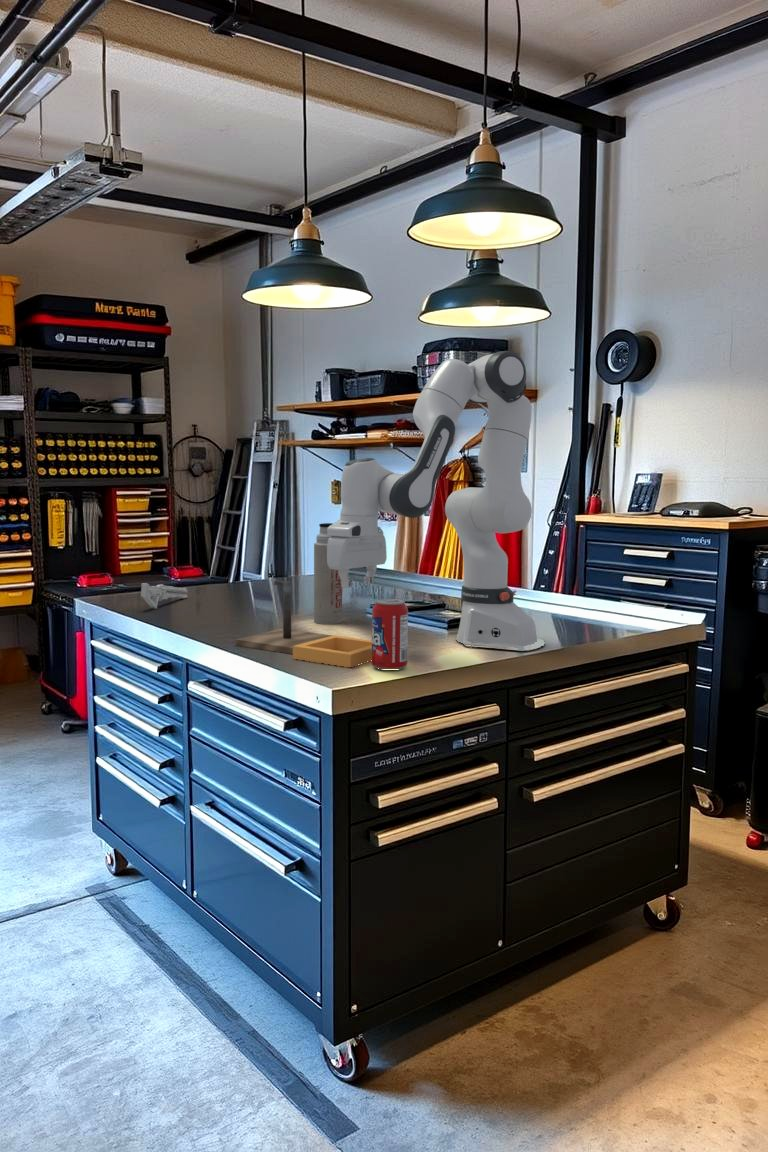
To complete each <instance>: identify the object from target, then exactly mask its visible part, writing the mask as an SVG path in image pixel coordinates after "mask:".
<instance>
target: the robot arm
mask: <svg viewBox="0 0 768 1152" xmlns="http://www.w3.org/2000/svg"><path fill="white" fill-rule="evenodd" d="M526 382H527V369H526V365H525V362H524V360H523V358H522V357H521V356H520V355H519V354H517V353H515V352H514V351H513V352H512V351H510V350H509V351H505V350H504V351H503V350H502V351H497V352H495V353H490V354H486V355H484V356H481V357H479V358H478V359H475V360H474V361H471V362H468V363H466V362H464V361H463V360H461V359H457V358H449V359H448V358H447V359H446V360H444V361H443V362H441V363H440V364H439V366H438V367H437V368H436V369H435V371H434V372H433V373H432V374H431V376H430V377H429V379H428V380H427V382H426V383H425V385H424V386H423V388H422V389H421V392H420V394H419V395H418V398H417V399H416V401H415V405H414V407H413V411H412V417H413V420H414V422H415V425H416V427H417V428H418V429H419V431H421V432H422V433H423V435H424V438H423V439H424V440H423V443H422V445H421V448H419V449H420V450H419V452H418V454H417V457H416V459H415V461H414V463H413V465H412V467H411V468H410V469H409V470H408V471H406V472H405V473H395V472H394V471H392V470H390V469H388V468H386V467H384V466H383V465H381V464H380V463H379V462H378V461H377V459H375V458H374V457H364V458H356V459H351V460H349V461H347V462H346V463H345V464H344V465H343V466H344V467H343V470H342V474H341V485H340V499H341V504H342V505H341V509H340V516H339V517H340V519H338V520H337V521H335V522H334V523H333V524H332V525H330V526H329V527H328V528H327V535H328V536H331V537H330V538H329V540H328V543H327V564H328V566H329V568H330V569H335V570H338V574H339V576H340V579H341V587H342V589H350V588H352V580H351V579H350V578H349V574H350V569H358V568H365V569H366V570H367V571H366V574H365V576H364V577H363V584H364V585H373V584H374V577H375V575H376V573H377V569H378V566H382V565H385V563H386V561H387V542H386V541H387V540H386V537H385V534H384V531H383V529H382V528H381V526H379V525H378V524H379V521H378V520H379V513H380V512H382V513H385V514H391V515H397V516H398V515H399V516H403V517H406V518H409V519H410V518H411V519H415V518H416V519H417V518H419V517H421V516H423V515H424V514H426V513H427V512H428V510H430V508H431V506H432V504H433V501H434V497H435V490H436V485H437V482H438V479H439V476H440V473H441V471H442V468H443V466H444V463H445V461H446V459H447V456H448V453H449V451H450V449H451V448H452V447H451V446H452V443H453V441H454V438H455V434H456V425H457V423H458V421H459V419H460V417H461V415H462V413H463V411H464V409H465V406H466V405H467V403H468V402H469V403H471V404H483V403H486V404H487V408H488V409H487V410H488V414H487V415H488V416H487V417H488V418H487V420H486V424H485V428H484V431H483V436H482V439H481V443H480V447H479V451H478V455H477V463H478V466H480V468H481V469H482V470H483V471H484V475H485V483H484V486H483V487H472V486H470V487H469V486H468V487H465V488H461V489H458V490H455V491H453V492H451V493H450V495H448V497H447V499H446V502H445V505H444V512H445V516H446V519H447V520H448V522H449V523H450V524H451V525H452V526H453V528H454V529H455V532H456V534H457V536H458V540H459V543H460V546H461V547H460V548H461V552H462V557H463V559H462V560H463V579H462V580H463V585H461V591H460V592H461V593H460V596H461V597H460V599H461V600H460V602H461V614H460V620H459V626H458V632H457V635H456V638H455V641H456V640H457V641H459V642H461V643H463V644H464V645H471V646H472V645H473V646H497V647H514V648H519V647H520V648H521V647H522V646H527V645H531V644H534V643H535V642H537V627H536V624H535V621H534V619H533V618H532V617H531V616H530V615H528V613H526V612H525V611H524V610H523V609H522V608H521V607H520V606H518V605H517V604H516V603H515V602H514V596H517V594H516V593H517V590H511V588H510V587H509V586H508V570H509V569H508V568H509V567H508V565H509V558H508V555H507V553H506V551H504V549H503V548H502V547H501V546H500V544H499V542H498V541H497V537H496V533H498V534H509V533H516V532H519V531H522V530H524V529H525V528H526V527H527V526H528V524H529V523H530V521H531V518H532V512H533V511H532V503H531V501H530V499H529V497H528V496H527V495H526V493H525V491H524V488H523V485H522V466H523V460H524V456H525V453H526V448H527V444H528V439H529V435H530V429H531V423H532V411H533V410H532V409H533V407H532V402H531V400H530V399H529V398H528V397H526V395H524V394H525V392H526V389H527V383H526ZM457 641H456V642H457ZM459 642H458V643H459ZM461 643H460V644H461ZM463 644H462V645H463Z"/></svg>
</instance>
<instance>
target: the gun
mask: <svg viewBox="0 0 768 1152" xmlns="http://www.w3.org/2000/svg"><path fill="white" fill-rule="evenodd" d="M140 586H141V588H140V591H141V592H140V597H142V598H143V600H144V601H145V602H146V603H147V604H148V605H149V607H150V609H153V610H156V609H158V603H159V601H163V600H168V599H169V598H170V599H171V598H178V599H182V600H185V599H187V598H188V594H187V593H188V590H187V587H177V586H173V585H164V584H157V585H150V584H149V583H146V582H145V583H143V582H142V583H141V585H140Z"/></svg>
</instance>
